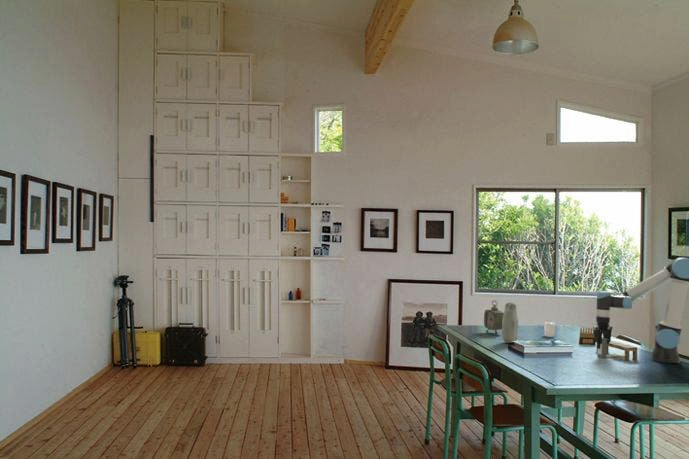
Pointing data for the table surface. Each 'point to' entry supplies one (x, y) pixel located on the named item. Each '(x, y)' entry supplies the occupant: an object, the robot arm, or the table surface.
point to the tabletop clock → (493, 319)
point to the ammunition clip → (586, 337)
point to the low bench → (623, 347)
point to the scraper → (604, 350)
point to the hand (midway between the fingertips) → (602, 353)
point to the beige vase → (510, 323)
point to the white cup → (549, 329)
